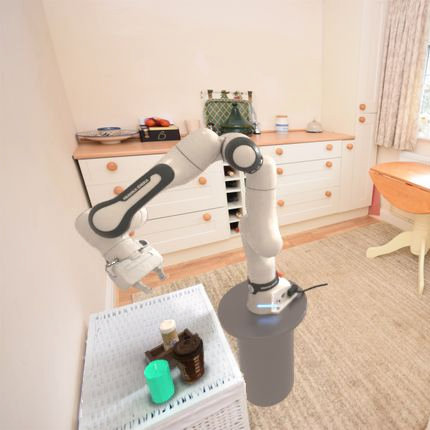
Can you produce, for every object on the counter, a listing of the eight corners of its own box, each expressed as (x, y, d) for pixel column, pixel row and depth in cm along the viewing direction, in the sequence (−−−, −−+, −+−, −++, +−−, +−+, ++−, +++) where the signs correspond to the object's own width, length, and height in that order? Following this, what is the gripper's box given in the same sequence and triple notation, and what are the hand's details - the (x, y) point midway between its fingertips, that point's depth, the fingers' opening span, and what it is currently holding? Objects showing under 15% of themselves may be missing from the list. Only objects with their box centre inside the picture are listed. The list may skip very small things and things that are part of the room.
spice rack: (188, 335, 104) (185, 320, 101) (201, 349, 99) (198, 334, 96) (146, 359, 94) (141, 344, 92) (158, 377, 89) (153, 361, 86)
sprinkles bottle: (174, 362, 94) (167, 331, 89) (163, 358, 95) (155, 327, 90) (184, 350, 98) (178, 320, 93) (173, 347, 99) (166, 317, 94)
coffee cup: (190, 359, 95) (184, 329, 90) (213, 364, 94) (208, 334, 88) (172, 383, 87) (164, 352, 82) (197, 389, 86) (191, 358, 81)
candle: (147, 395, 84) (138, 366, 79) (167, 379, 88) (160, 351, 84) (158, 407, 81) (149, 378, 76) (178, 391, 85) (171, 362, 81)
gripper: (109, 259, 80) (147, 294, 82) (148, 238, 100) (178, 266, 102) (93, 273, 80) (131, 307, 83) (135, 249, 100) (165, 277, 103)
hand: (157, 285), depth 93 cm, fingers open, 8 cm apart
